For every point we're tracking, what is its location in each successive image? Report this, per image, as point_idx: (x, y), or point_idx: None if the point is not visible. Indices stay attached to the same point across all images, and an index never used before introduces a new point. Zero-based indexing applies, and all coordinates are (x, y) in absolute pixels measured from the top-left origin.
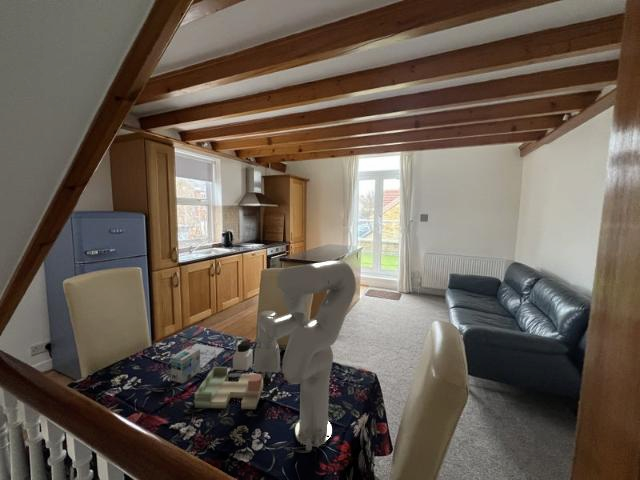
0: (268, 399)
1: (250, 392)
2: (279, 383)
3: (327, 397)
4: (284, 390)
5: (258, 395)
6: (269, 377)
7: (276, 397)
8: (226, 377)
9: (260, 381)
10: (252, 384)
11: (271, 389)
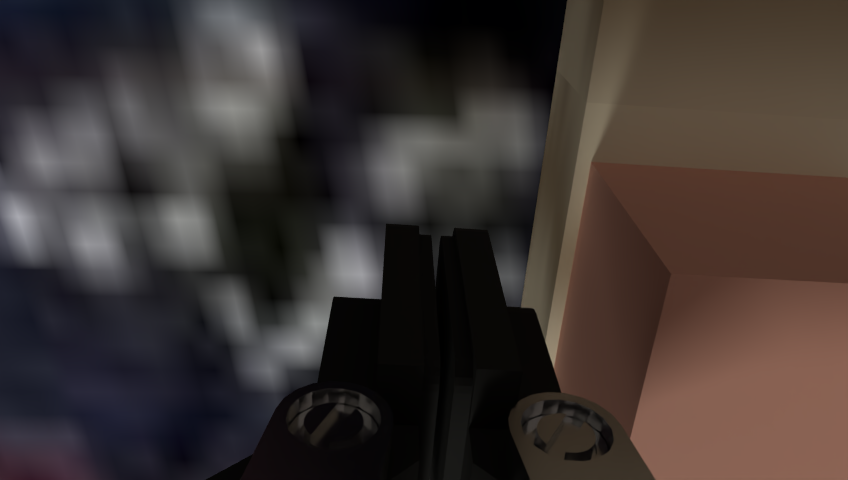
0: (365, 42)
1: (797, 116)
2: (236, 453)
3: None
4: (100, 288)
5: (601, 4)
6: (334, 396)
7: (210, 98)
8: None
9: (612, 353)
10: (839, 238)
11: None
